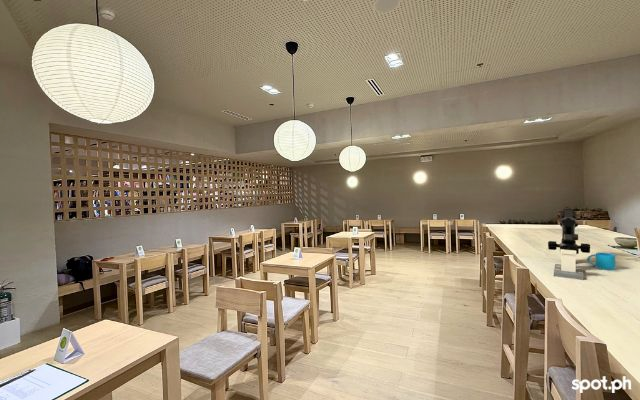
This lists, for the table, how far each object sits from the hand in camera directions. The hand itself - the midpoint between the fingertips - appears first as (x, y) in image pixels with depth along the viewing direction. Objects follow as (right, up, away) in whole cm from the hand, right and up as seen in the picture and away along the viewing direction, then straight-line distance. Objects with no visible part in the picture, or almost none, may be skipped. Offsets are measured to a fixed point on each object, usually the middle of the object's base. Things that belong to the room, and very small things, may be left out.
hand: (568, 259), depth 167 cm
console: (-3, -7, -3) cm, 8 cm away
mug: (+24, -6, +6) cm, 26 cm away
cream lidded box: (-5, -5, -6) cm, 10 cm away
